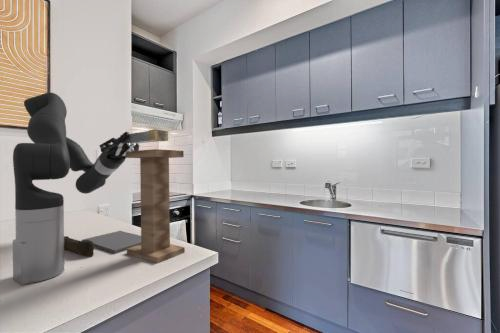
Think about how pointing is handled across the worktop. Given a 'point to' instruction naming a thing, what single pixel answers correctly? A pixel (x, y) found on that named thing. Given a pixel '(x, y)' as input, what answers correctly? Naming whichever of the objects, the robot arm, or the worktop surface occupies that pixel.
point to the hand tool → (79, 246)
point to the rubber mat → (115, 241)
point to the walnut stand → (155, 205)
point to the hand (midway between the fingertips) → (133, 134)
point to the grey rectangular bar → (147, 137)
